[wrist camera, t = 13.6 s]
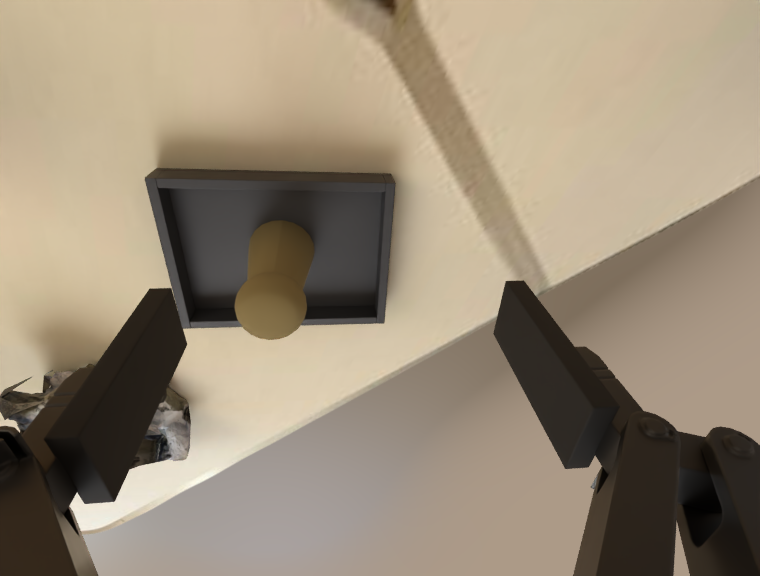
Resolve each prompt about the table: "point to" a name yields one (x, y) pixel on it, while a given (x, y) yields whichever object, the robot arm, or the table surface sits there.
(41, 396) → the crumpled newspaper
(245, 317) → the tan pawn
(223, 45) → the table surface
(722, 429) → the robot arm
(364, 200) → the dark grey shallow tray
